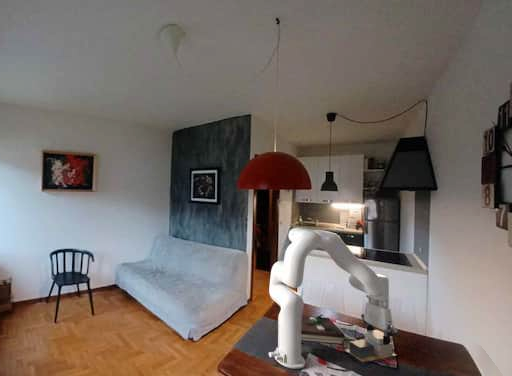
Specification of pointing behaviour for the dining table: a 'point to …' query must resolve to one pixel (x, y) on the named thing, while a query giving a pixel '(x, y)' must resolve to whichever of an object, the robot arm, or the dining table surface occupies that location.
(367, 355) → the grey book
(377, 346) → the white book
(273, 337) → the dining table surface
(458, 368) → the dining table surface
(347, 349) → the shelf board
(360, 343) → the grey book
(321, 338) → the decorative book
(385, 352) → the white book
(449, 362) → the dining table surface
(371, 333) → the white book
